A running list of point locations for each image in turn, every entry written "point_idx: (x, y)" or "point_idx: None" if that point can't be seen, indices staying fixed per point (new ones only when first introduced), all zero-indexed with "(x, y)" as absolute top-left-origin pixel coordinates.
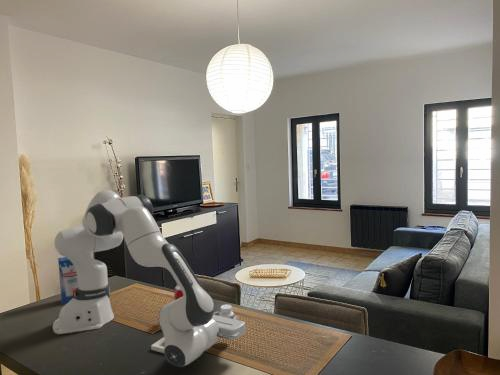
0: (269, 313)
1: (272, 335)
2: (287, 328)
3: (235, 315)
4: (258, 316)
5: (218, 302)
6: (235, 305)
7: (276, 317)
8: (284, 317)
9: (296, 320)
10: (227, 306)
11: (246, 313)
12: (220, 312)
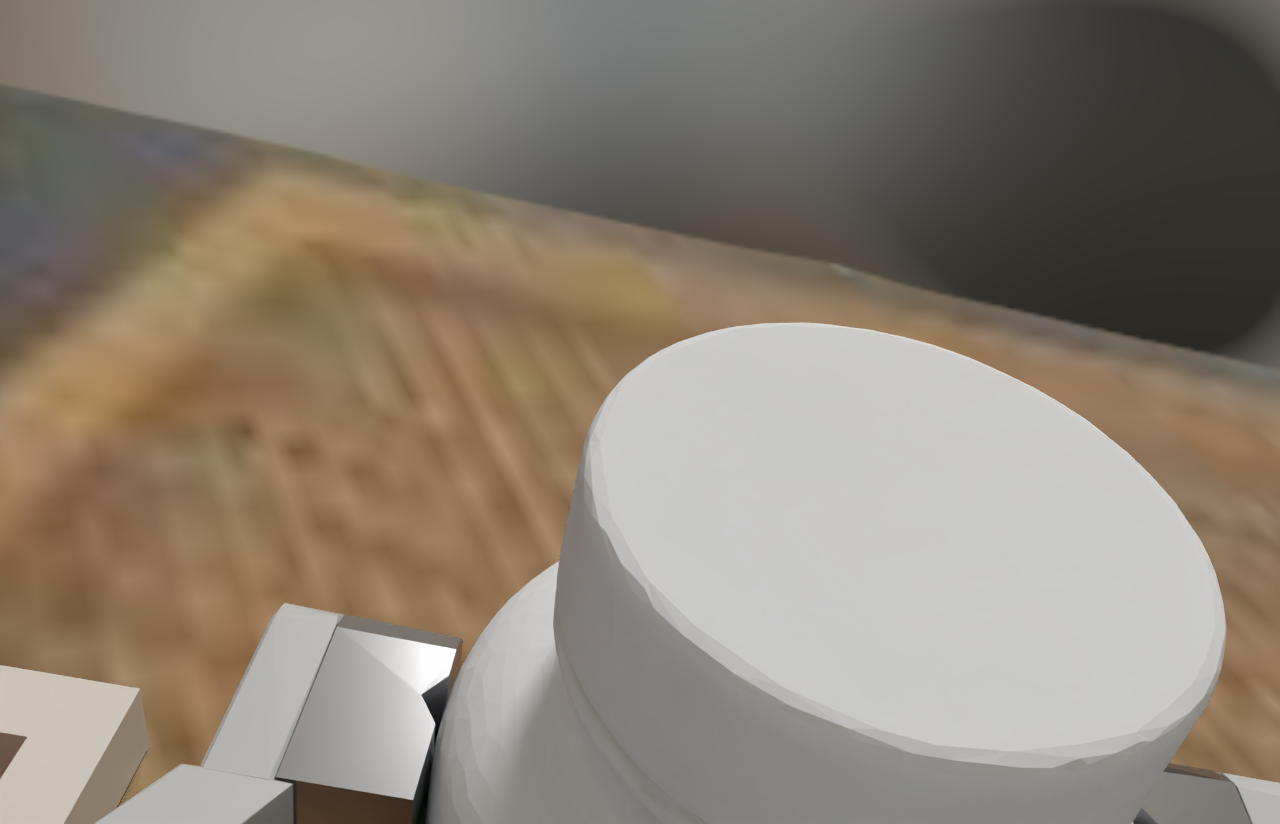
0: (809, 269)
1: (1247, 723)
2: (1256, 519)
3: (1228, 803)
4: (719, 323)
5: (51, 113)
6: (311, 158)
7: (941, 328)
8: (1024, 323)
9: (1190, 363)
10: (948, 472)
11: (528, 279)
12: (538, 764)
